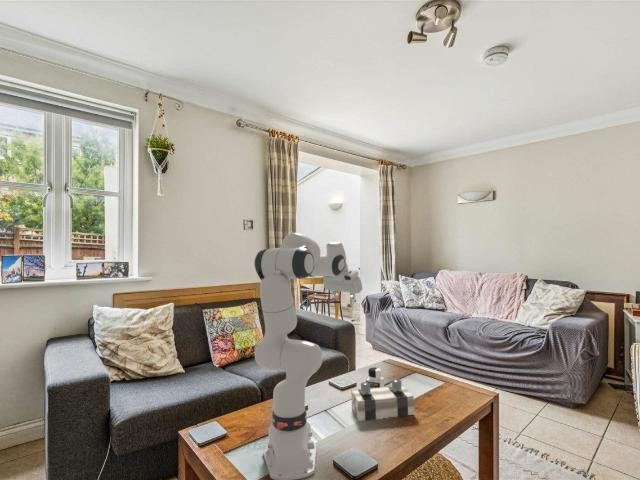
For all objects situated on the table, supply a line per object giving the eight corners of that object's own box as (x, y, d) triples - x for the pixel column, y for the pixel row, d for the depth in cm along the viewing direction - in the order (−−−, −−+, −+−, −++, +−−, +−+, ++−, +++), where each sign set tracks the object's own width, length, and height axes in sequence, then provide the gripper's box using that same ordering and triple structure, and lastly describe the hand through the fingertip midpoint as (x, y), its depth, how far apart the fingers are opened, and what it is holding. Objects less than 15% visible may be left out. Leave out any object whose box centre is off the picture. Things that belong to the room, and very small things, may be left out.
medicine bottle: (366, 395, 165) (365, 369, 166) (370, 389, 172) (370, 365, 172) (380, 397, 162) (379, 371, 162) (384, 391, 168) (383, 367, 169)
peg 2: (403, 398, 147) (402, 382, 147) (394, 399, 146) (393, 383, 147) (399, 395, 151) (399, 379, 151) (391, 395, 150) (390, 379, 151)
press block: (414, 415, 143) (413, 396, 144) (358, 421, 140) (358, 401, 140) (403, 403, 155) (402, 385, 156) (351, 408, 152) (351, 389, 152)
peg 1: (371, 401, 145) (371, 385, 145) (362, 402, 144) (362, 385, 145) (369, 397, 149) (368, 381, 149) (360, 398, 148) (359, 382, 149)
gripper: (318, 274, 169) (324, 299, 173) (355, 277, 158) (360, 303, 162) (325, 269, 174) (330, 293, 178) (361, 271, 163) (365, 297, 167)
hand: (344, 298), depth 170 cm, fingers open, 8 cm apart
